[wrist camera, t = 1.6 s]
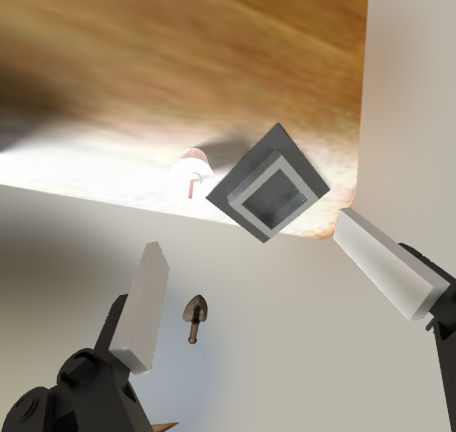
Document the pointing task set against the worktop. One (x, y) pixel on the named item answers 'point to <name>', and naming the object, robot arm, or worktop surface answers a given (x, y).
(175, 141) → the worktop surface
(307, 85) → the worktop surface
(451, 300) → the robot arm
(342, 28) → the worktop surface
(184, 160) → the beverage cup
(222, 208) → the socket holder
